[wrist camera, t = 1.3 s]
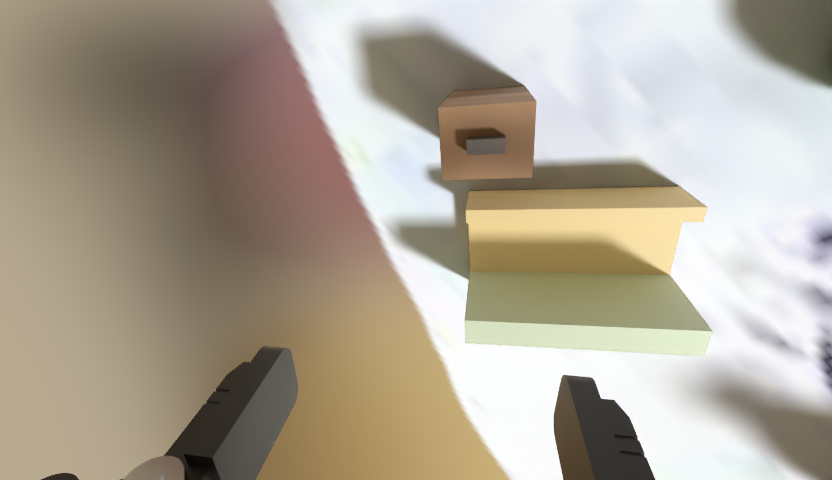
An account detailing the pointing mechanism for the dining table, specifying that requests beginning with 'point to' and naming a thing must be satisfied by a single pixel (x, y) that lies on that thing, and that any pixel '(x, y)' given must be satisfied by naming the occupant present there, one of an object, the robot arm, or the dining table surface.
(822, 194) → the dining table surface
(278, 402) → the robot arm
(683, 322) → the beige piece
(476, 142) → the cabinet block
